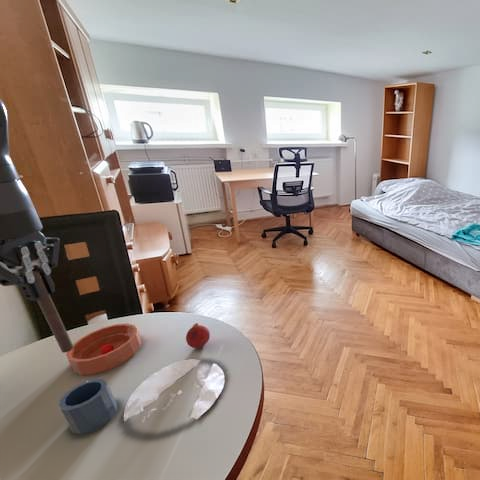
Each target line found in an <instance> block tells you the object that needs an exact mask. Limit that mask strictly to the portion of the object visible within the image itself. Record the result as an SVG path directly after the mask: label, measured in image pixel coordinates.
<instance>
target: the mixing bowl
mask: <svg viewBox="0 0 480 480" xmlns="http://www.w3.org/2000/svg"><path fill="white" fill-rule="evenodd" d="M142 342H143V340H142V337H141V335H140V332H139V329H138V328H137V327H136V325H135V324H132V323H116V324H112V325H107V326H104V327H101V328H99V329H96V330H93V331H92V332H88V334H85V335H84V336H82V337H80V338H79V339H77V340H76V341H75V342H74V343H72V344H73V346H74V348H73V349H72V350H71V351H69V352H65V355H66V358H67V360H68V362H69V364H70V367H71V368H72V370H73V373H75V374H77V375H78V374H79V375H81V376H87V375H88V376H89V375H96V374H101V373H103V372H107V371H110V370H112V369H114V368H115V367H118V366H119V365H122V364H124V363H125V362H126V361H128V360H130V359H131V358H132V357H133V356H135V355H136V353H137V352H138V351H139V350H140V349H141V347H142ZM107 344H111V345H113V346H114V350H113V351H111V352H108V353H106V354H104V355H103V354H102V353H101V348H102V347H103V346H104V345H107Z"/></svg>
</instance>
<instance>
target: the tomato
mask: <svg viewBox="0 0 480 480" xmlns="http://www.w3.org/2000/svg"><path fill="white" fill-rule="evenodd" d="M113 350H114V346H113V345H111V344H107V345H104V346H103V347H102V348H101V353H102V354H103V355H104V354H106V353H108V352H111V351H113Z"/></svg>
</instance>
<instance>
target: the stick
mask: <svg viewBox="0 0 480 480" xmlns="http://www.w3.org/2000/svg"><path fill="white" fill-rule="evenodd" d="M32 273H33V275H34V278H35V281H37V282H38V285H39V287H40V289H41V291H42V293H43V295H44V298H43V299H41V300H37V301H36V302H37V303H38V306H39V307H40V309H41V311H42V314H43V316H44V319H45V320H46V322H47V324H48V326H49V329H50V330H51V332H52V335H53V336H54V338H55V340H56V343H57V344H58V345H57V346H58V347H59V349H60V352H61V353H65V354H66V353H67V352H69V351H71V350H72V349H73V348H74V346H73V344H74V343H73V342H72V340H71V338H70V336H69V333H68V331H67V329H66V327H65V325H64V323H63V320H62V318H61V316H60V314H59V312H58V310H57V307H56V306H55V303H54V301H53V299H52V297H51V294H49V292H48V290H47V288H46V286H45V284H44V281H43V279H42V277H41V275H40V273H39V271H32Z"/></svg>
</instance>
